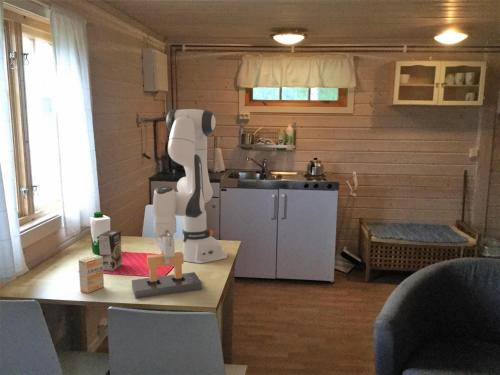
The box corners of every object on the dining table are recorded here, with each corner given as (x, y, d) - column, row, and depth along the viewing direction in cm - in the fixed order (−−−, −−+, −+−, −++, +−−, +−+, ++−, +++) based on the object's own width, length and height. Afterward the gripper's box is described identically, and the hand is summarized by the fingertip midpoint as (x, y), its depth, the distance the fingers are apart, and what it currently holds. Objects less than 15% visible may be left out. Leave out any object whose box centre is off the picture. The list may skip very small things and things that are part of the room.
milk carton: (107, 248, 236) (105, 210, 232) (114, 253, 229) (112, 214, 225) (90, 252, 230) (87, 213, 227) (96, 256, 223) (94, 216, 220)
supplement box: (88, 294, 179) (86, 262, 177) (79, 291, 182) (77, 259, 180) (104, 287, 186) (103, 256, 184) (96, 284, 189) (95, 254, 186)
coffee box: (113, 271, 204) (111, 236, 201) (99, 270, 206) (98, 235, 203) (122, 264, 213) (121, 230, 210) (110, 263, 214) (108, 229, 211)
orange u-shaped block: (182, 275, 188) (181, 251, 187) (183, 277, 186) (183, 254, 184) (147, 279, 184) (146, 255, 182) (148, 282, 181) (147, 257, 179)
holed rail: (194, 278, 195) (194, 272, 195) (201, 289, 184) (201, 282, 184) (131, 287, 186) (131, 280, 186) (135, 298, 175) (135, 291, 175)
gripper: (178, 234, 172) (179, 269, 175) (168, 221, 191) (168, 253, 194) (161, 235, 170) (162, 271, 173) (152, 222, 189) (153, 254, 192)
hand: (165, 261), depth 183 cm, fingers closed on orange u-shaped block, 3 cm apart
